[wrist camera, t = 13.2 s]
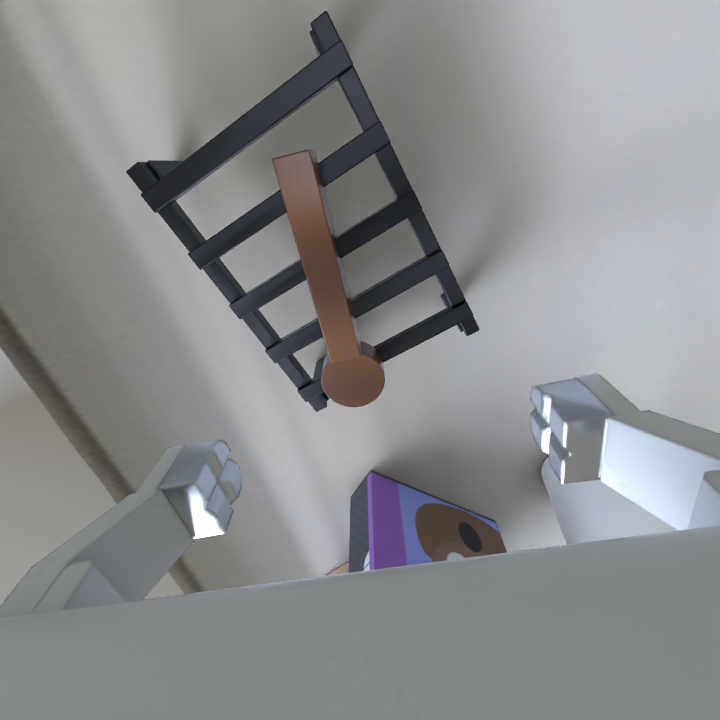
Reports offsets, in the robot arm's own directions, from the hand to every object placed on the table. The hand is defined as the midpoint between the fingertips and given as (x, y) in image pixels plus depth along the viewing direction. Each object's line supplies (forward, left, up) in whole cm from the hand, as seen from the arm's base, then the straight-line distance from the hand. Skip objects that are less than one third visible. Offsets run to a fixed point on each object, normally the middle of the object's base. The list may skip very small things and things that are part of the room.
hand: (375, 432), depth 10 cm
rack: (-2, -2, -23) cm, 23 cm away
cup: (+32, +8, -23) cm, 40 cm away
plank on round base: (0, -2, -16) cm, 16 cm away
